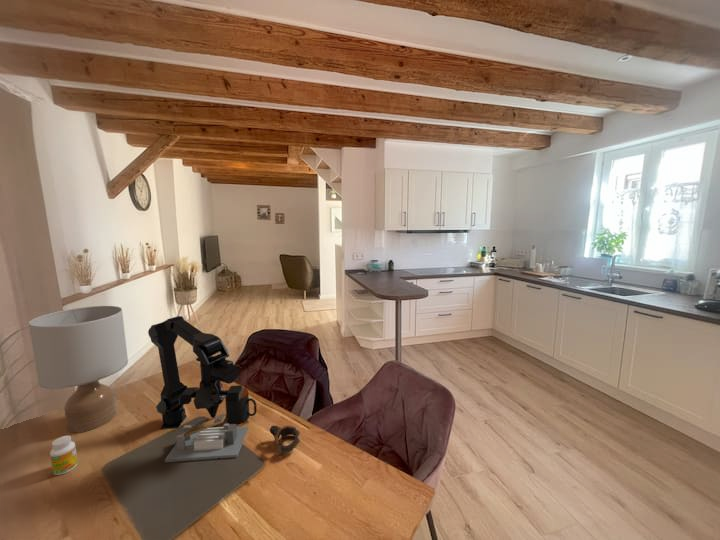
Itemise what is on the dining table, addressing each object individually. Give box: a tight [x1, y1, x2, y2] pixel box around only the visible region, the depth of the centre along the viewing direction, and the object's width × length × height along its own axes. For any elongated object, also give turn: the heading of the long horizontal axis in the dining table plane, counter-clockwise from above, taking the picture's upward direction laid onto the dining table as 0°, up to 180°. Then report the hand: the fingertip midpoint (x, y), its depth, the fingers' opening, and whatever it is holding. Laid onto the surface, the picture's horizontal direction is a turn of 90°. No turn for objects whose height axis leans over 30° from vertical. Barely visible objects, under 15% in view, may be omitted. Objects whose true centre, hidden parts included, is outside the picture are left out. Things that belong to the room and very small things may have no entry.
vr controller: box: [269, 424, 301, 456], centre depth 99 cm, size 12×10×8 cm
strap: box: [180, 413, 226, 437], centre depth 98 cm, size 15×3×2 cm, turn 96°
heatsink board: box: [164, 423, 249, 463], centre depth 98 cm, size 22×13×6 cm, turn 96°
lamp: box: [28, 305, 129, 433], centre depth 107 cm, size 24×24×42 cm
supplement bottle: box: [49, 435, 79, 476], centre depth 88 cm, size 5×5×10 cm
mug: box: [224, 387, 258, 426], centre depth 112 cm, size 8×12×10 cm
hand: (213, 417), depth 97 cm, fingers closed
